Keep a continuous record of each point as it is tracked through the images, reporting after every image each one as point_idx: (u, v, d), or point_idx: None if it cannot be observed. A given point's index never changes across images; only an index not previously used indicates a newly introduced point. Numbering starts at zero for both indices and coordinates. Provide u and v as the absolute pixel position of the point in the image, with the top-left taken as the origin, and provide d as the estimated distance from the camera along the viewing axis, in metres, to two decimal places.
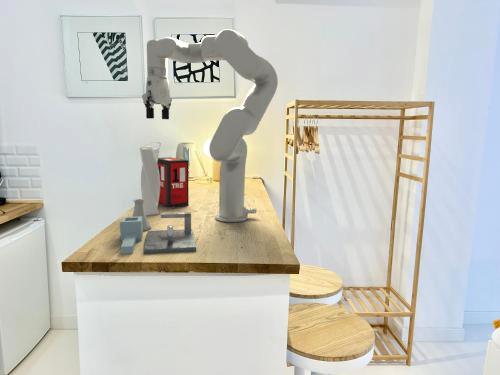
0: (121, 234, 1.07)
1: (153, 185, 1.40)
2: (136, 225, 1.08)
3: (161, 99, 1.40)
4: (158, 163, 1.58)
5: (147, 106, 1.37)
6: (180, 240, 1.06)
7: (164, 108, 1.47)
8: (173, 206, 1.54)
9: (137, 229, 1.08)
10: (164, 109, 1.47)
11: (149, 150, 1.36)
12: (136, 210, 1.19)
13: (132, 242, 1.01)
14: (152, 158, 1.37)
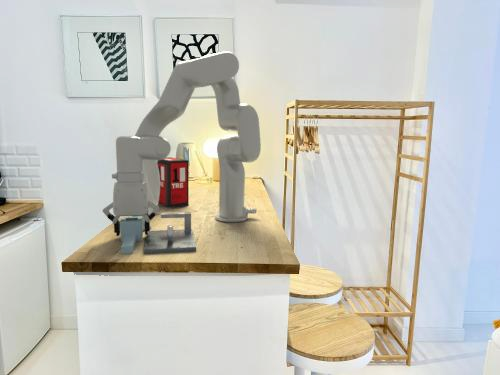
0: (121, 234, 1.07)
1: (153, 185, 1.40)
2: (136, 225, 1.08)
3: (125, 211, 1.07)
4: (158, 163, 1.58)
5: None
6: (180, 240, 1.06)
7: None
8: (173, 206, 1.54)
9: (137, 229, 1.08)
10: None
11: None
12: None
13: (132, 242, 1.01)
14: None
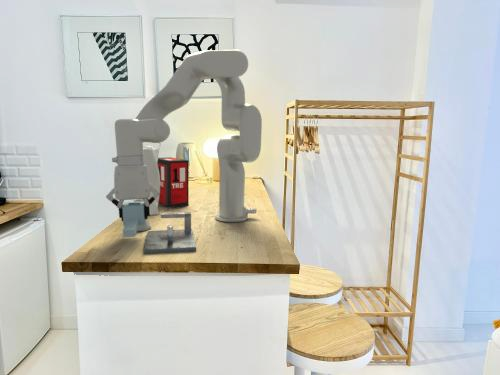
0: (124, 219, 1.08)
1: (153, 185, 1.40)
2: (138, 210, 1.08)
3: (127, 195, 1.07)
4: (158, 163, 1.58)
5: None
6: (180, 240, 1.06)
7: None
8: (173, 206, 1.54)
9: (139, 214, 1.08)
10: None
11: (149, 150, 1.36)
12: None
13: (134, 226, 1.01)
14: (152, 158, 1.37)
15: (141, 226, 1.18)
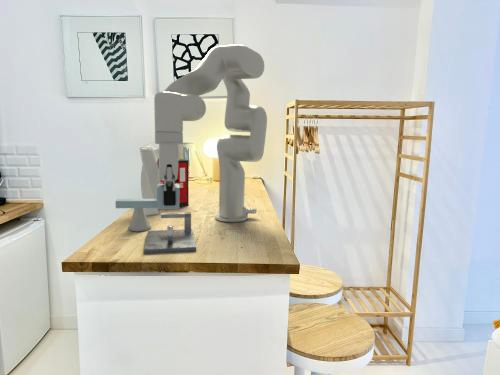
0: None
1: (153, 185, 1.40)
2: None
3: None
4: (158, 163, 1.58)
5: None
6: (180, 240, 1.06)
7: None
8: None
9: (157, 195, 0.99)
10: None
11: (149, 150, 1.36)
12: (136, 210, 1.19)
13: (128, 200, 0.99)
14: (152, 158, 1.37)
15: (141, 226, 1.18)
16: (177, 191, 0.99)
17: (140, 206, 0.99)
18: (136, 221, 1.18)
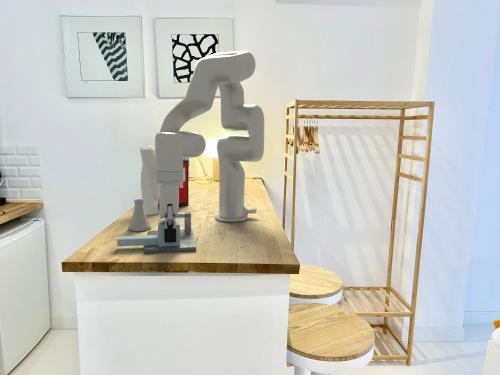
0: None
1: (153, 185, 1.40)
2: None
3: None
4: None
5: None
6: (180, 240, 1.06)
7: None
8: None
9: (158, 233, 1.01)
10: None
11: (149, 150, 1.36)
12: (136, 210, 1.19)
13: (129, 238, 1.00)
14: (152, 158, 1.37)
15: (141, 226, 1.18)
16: (178, 228, 1.01)
17: (141, 243, 1.01)
18: (136, 221, 1.18)
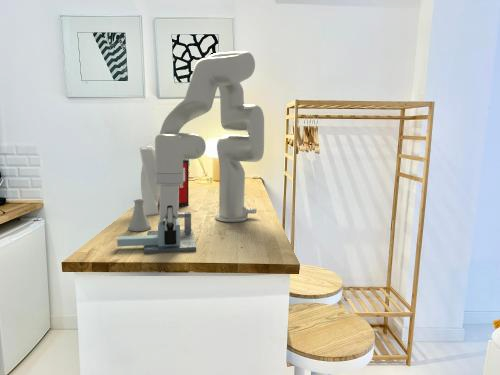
0: None
1: (153, 185, 1.40)
2: None
3: None
4: None
5: None
6: (180, 240, 1.06)
7: None
8: None
9: (158, 233, 1.01)
10: None
11: (149, 150, 1.36)
12: (136, 210, 1.19)
13: (129, 238, 1.00)
14: (152, 158, 1.37)
15: (141, 226, 1.18)
16: (178, 228, 1.01)
17: (141, 243, 1.01)
18: (136, 221, 1.18)
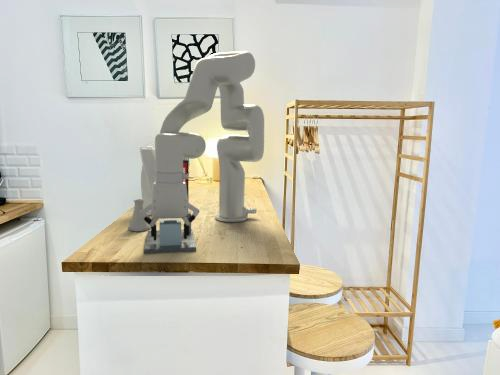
0: None
1: None
2: None
3: None
4: None
5: None
6: None
7: (155, 224, 1.02)
8: None
9: None
10: (154, 225, 1.02)
11: (149, 150, 1.36)
12: (136, 210, 1.19)
13: None
14: (152, 158, 1.37)
15: (141, 226, 1.18)
16: (159, 228, 1.01)
17: None
18: (136, 221, 1.18)
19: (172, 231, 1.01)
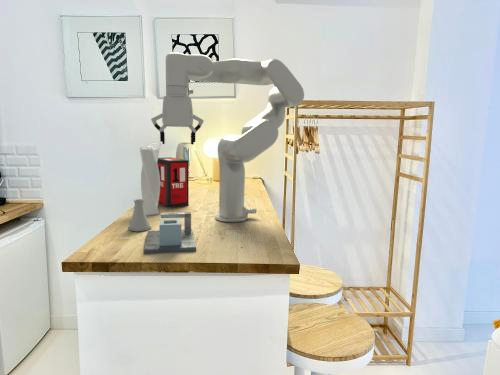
0: None
1: (153, 185, 1.40)
2: None
3: None
4: (158, 163, 1.58)
5: None
6: None
7: (163, 131, 1.21)
8: (173, 206, 1.54)
9: None
10: None
11: (149, 150, 1.36)
12: (136, 210, 1.19)
13: None
14: (152, 158, 1.37)
15: (141, 226, 1.18)
16: (159, 228, 1.01)
17: None
18: (136, 221, 1.18)
19: (172, 231, 1.01)
